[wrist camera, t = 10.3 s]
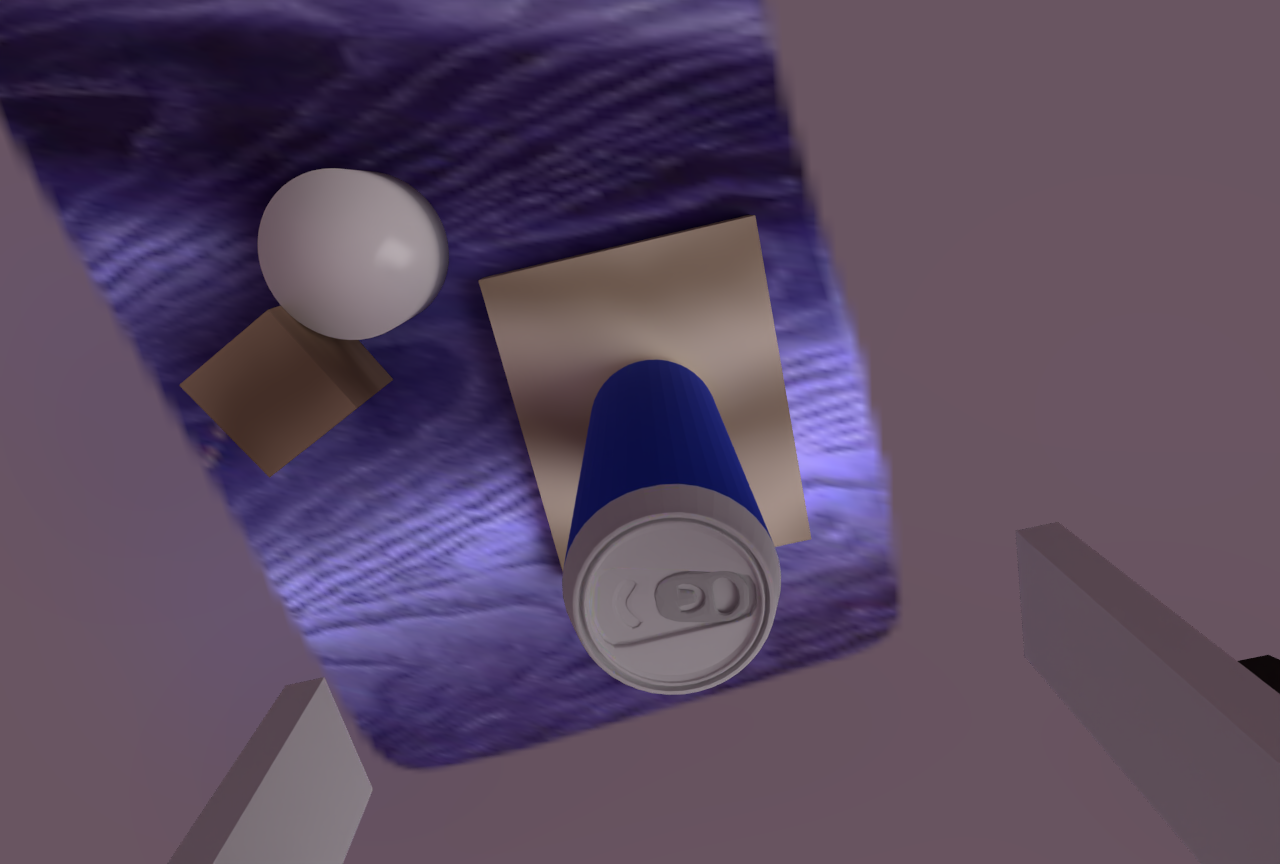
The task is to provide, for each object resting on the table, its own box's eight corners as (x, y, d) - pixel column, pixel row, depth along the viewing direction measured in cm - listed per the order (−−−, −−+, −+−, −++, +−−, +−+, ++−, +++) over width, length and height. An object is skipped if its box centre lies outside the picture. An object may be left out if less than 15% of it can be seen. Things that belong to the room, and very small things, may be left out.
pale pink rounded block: (276, 191, 29) (231, 191, 26) (422, 154, 29) (395, 149, 26) (329, 338, 31) (293, 355, 28) (468, 305, 31) (448, 319, 27)
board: (484, 277, 30) (478, 280, 29) (750, 214, 30) (755, 215, 29) (570, 577, 34) (568, 590, 33) (805, 527, 34) (811, 539, 33)
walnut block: (240, 359, 31) (179, 385, 27) (318, 293, 30) (267, 309, 26) (317, 440, 32) (269, 477, 28) (393, 379, 32) (357, 407, 27)
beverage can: (599, 481, 32) (574, 715, 17) (583, 363, 30) (542, 513, 16) (719, 468, 32) (794, 693, 17) (710, 349, 30) (784, 488, 16)
